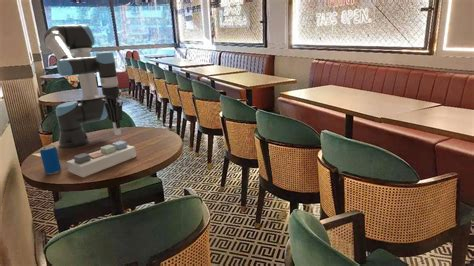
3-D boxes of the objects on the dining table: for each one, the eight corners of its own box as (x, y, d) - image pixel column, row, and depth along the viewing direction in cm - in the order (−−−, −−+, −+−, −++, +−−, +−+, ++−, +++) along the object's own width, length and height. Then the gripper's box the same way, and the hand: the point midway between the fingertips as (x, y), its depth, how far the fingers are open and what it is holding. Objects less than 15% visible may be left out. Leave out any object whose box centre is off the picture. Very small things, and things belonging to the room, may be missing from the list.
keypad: (68, 171, 150) (66, 161, 148) (121, 152, 171) (120, 143, 170) (83, 177, 143) (80, 166, 141) (136, 156, 164) (134, 146, 163)
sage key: (101, 153, 158) (100, 147, 157) (110, 150, 161) (109, 144, 160) (107, 155, 155) (106, 149, 154) (116, 152, 158) (114, 146, 158)
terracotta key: (89, 161, 153) (88, 155, 152) (98, 158, 157) (97, 152, 156) (95, 163, 150) (93, 157, 150) (104, 160, 154) (103, 154, 153)
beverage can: (49, 169, 153) (43, 145, 149) (63, 168, 154) (58, 144, 150) (42, 175, 147) (36, 150, 143) (57, 174, 147) (52, 149, 144)
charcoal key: (75, 162, 148) (73, 156, 147) (85, 159, 151) (83, 152, 150) (80, 164, 145) (79, 158, 144) (90, 161, 149) (89, 154, 148)
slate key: (113, 149, 163) (112, 143, 162) (121, 146, 166) (120, 140, 165) (119, 150, 160) (118, 145, 159) (127, 147, 163) (126, 142, 162)
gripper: (94, 86, 155) (103, 134, 161) (111, 88, 147) (119, 138, 154) (109, 84, 160) (116, 130, 167) (125, 85, 153) (132, 134, 160)
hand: (118, 134), depth 161 cm, fingers closed
